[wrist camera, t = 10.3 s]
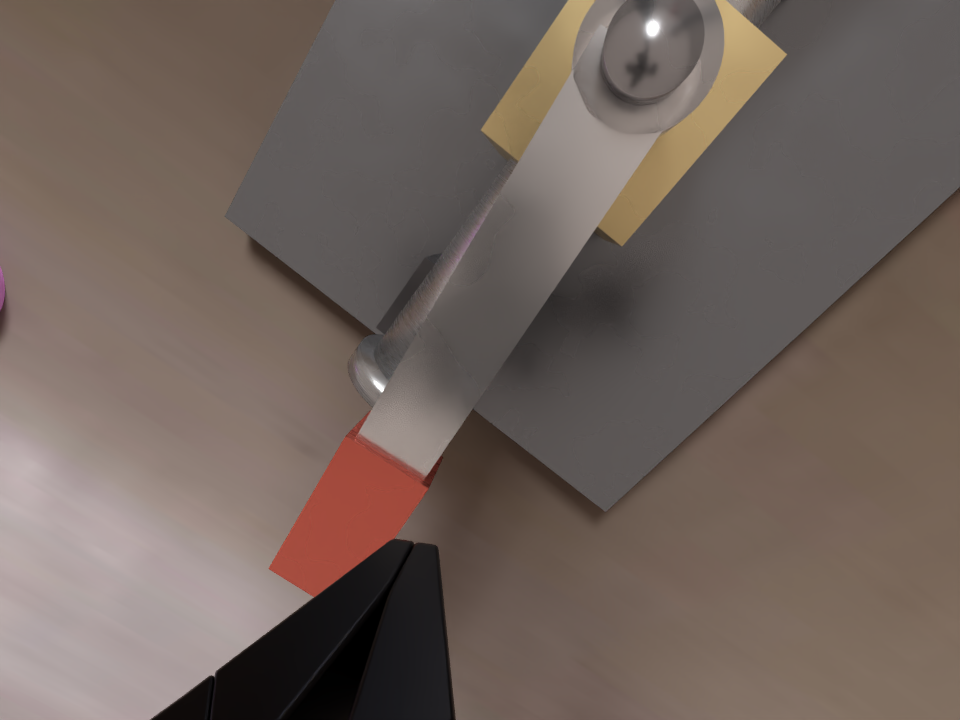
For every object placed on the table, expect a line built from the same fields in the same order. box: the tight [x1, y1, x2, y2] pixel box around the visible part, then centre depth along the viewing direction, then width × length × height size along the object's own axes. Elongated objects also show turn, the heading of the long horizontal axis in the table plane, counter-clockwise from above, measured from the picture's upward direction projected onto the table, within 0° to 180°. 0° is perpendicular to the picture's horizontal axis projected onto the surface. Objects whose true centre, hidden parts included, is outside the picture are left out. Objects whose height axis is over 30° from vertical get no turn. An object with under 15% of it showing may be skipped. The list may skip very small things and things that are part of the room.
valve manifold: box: [225, 0, 960, 512], centre depth 13 cm, size 22×20×8 cm
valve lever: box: [269, 0, 724, 597], centre depth 11 cm, size 16×3×2 cm, turn 148°
